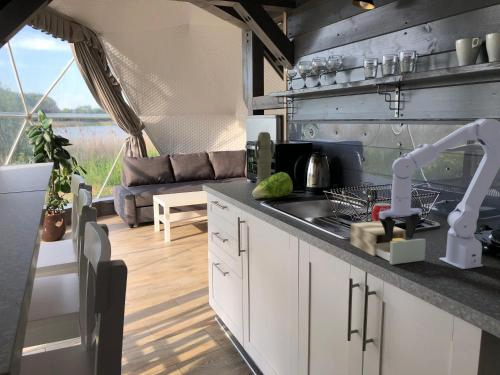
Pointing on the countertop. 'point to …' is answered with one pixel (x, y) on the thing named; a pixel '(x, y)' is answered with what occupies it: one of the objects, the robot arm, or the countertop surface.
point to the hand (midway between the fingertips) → (399, 238)
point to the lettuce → (274, 186)
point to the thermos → (264, 156)
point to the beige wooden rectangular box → (371, 235)
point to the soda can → (379, 210)
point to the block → (396, 240)
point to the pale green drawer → (402, 251)
